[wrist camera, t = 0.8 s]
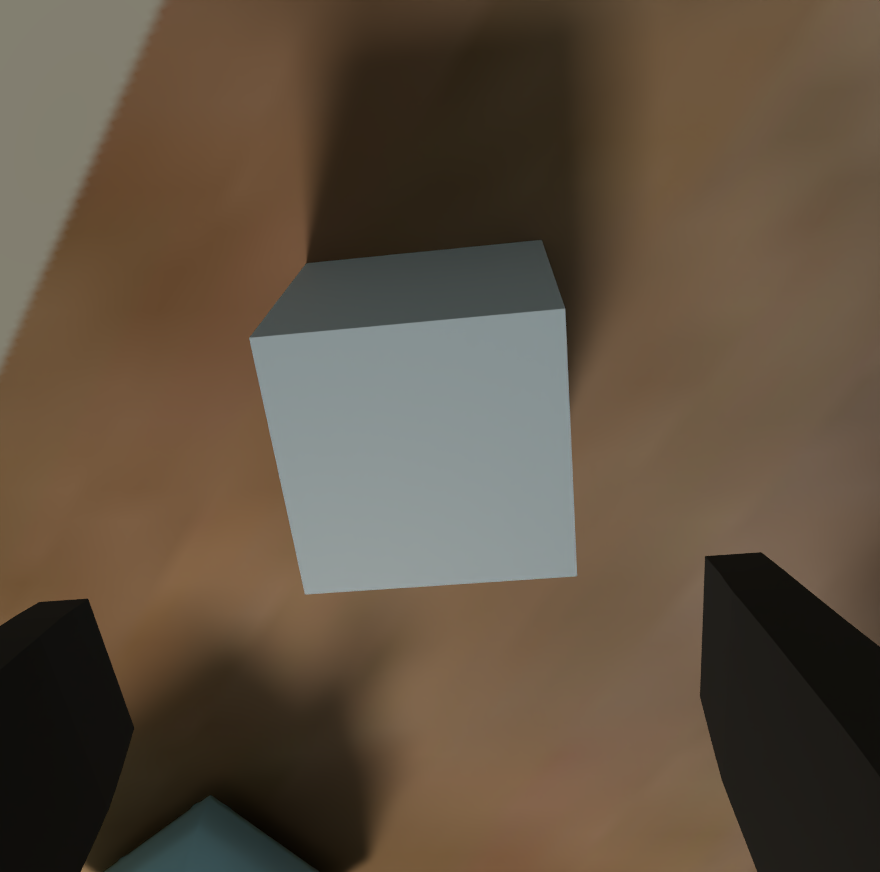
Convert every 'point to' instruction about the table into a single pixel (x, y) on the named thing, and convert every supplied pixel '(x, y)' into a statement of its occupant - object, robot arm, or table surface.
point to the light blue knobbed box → (210, 846)
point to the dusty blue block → (422, 418)
